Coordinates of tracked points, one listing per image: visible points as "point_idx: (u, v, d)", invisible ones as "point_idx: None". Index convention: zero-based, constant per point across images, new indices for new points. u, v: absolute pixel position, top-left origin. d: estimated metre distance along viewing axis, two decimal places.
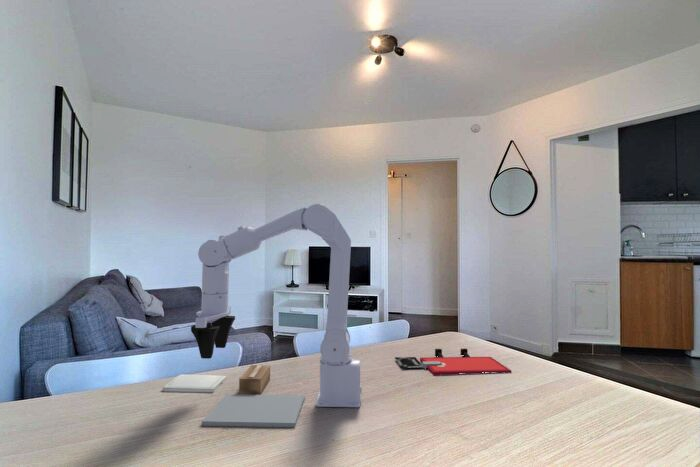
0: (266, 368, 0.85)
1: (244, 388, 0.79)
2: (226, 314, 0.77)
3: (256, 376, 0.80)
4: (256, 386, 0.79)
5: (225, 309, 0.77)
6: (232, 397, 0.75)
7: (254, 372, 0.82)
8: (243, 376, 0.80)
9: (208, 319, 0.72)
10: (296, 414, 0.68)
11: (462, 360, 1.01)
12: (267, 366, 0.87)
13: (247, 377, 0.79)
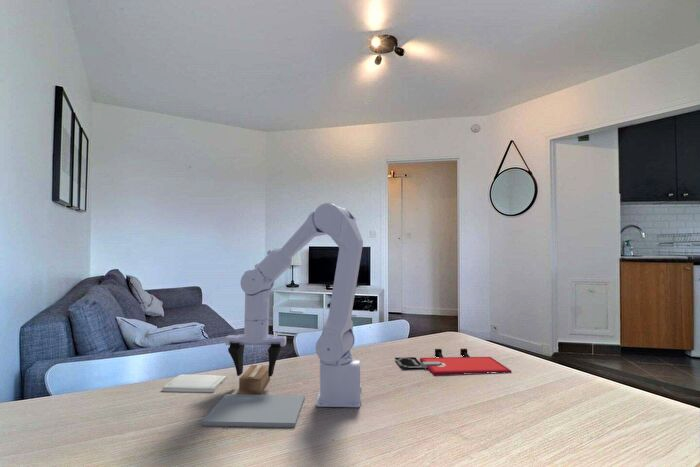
0: (266, 368, 0.85)
1: (244, 388, 0.79)
2: (249, 341, 0.81)
3: (256, 376, 0.80)
4: (256, 386, 0.79)
5: (250, 336, 0.81)
6: (232, 397, 0.75)
7: (254, 372, 0.82)
8: (243, 376, 0.80)
9: (230, 339, 0.82)
10: (296, 414, 0.68)
11: (462, 360, 1.01)
12: (267, 366, 0.87)
13: (247, 377, 0.79)
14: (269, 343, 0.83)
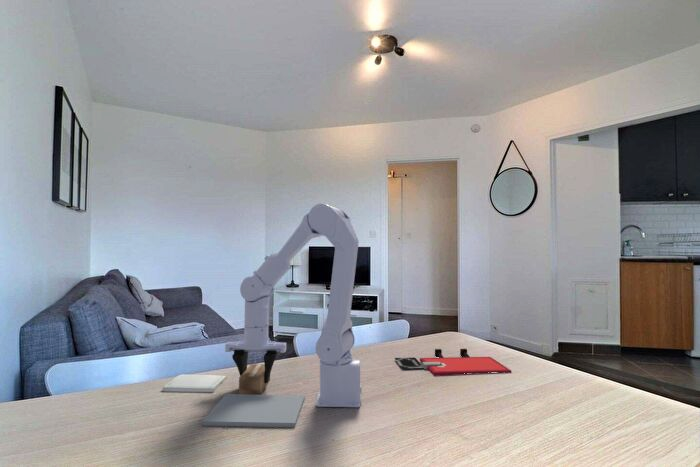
0: None
1: (243, 387, 0.79)
2: (249, 348, 0.80)
3: (256, 375, 0.80)
4: (256, 385, 0.79)
5: (249, 343, 0.81)
6: (232, 397, 0.75)
7: (254, 371, 0.82)
8: (243, 375, 0.80)
9: (230, 346, 0.82)
10: (296, 414, 0.68)
11: (462, 361, 1.01)
12: None
13: (247, 376, 0.79)
14: (269, 350, 0.83)
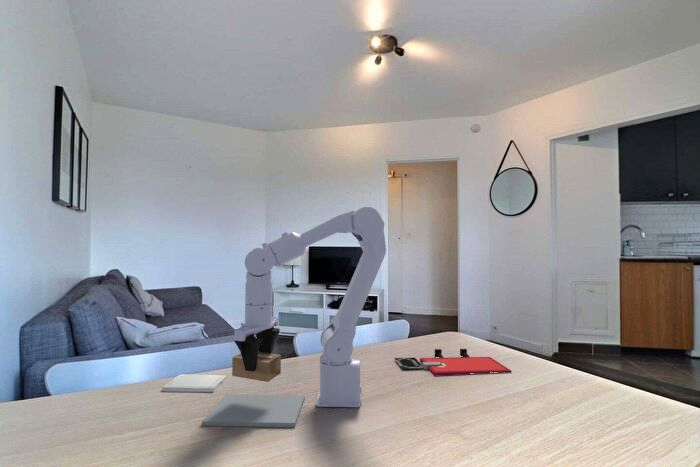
0: None
1: (271, 371, 0.71)
2: (268, 326, 0.73)
3: (271, 356, 0.74)
4: (278, 364, 0.74)
5: (267, 321, 0.73)
6: (232, 397, 0.75)
7: (260, 355, 0.74)
8: (263, 360, 0.71)
9: (247, 332, 0.68)
10: (296, 414, 0.68)
11: (462, 361, 1.01)
12: None
13: (269, 359, 0.72)
14: None
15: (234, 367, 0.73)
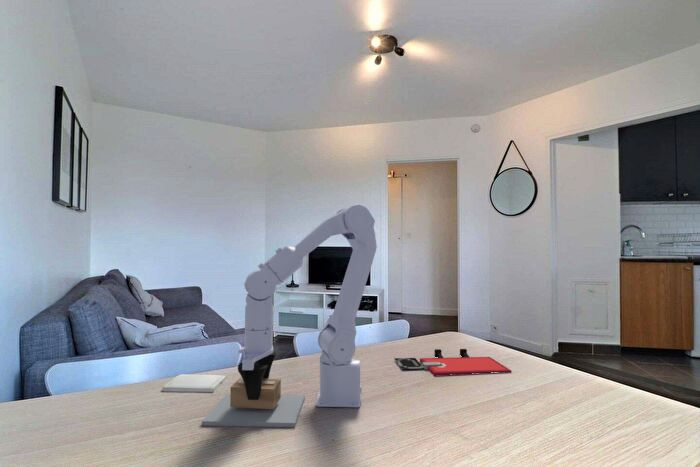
0: None
1: (275, 397, 0.69)
2: (271, 351, 0.71)
3: (272, 381, 0.72)
4: (279, 389, 0.72)
5: (270, 346, 0.71)
6: None
7: None
8: (267, 387, 0.69)
9: (255, 360, 0.66)
10: (296, 414, 0.68)
11: (462, 361, 1.01)
12: None
13: (272, 385, 0.70)
14: None
15: (233, 397, 0.69)
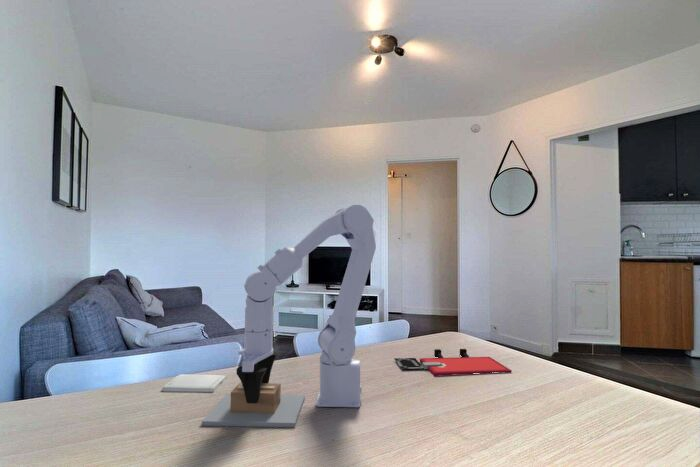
0: None
1: (275, 402, 0.70)
2: (271, 353, 0.71)
3: (272, 386, 0.72)
4: (279, 393, 0.72)
5: (270, 347, 0.71)
6: None
7: (261, 386, 0.71)
8: (268, 392, 0.69)
9: (255, 361, 0.66)
10: (296, 414, 0.68)
11: (461, 361, 1.01)
12: None
13: (272, 389, 0.70)
14: None
15: (233, 403, 0.69)
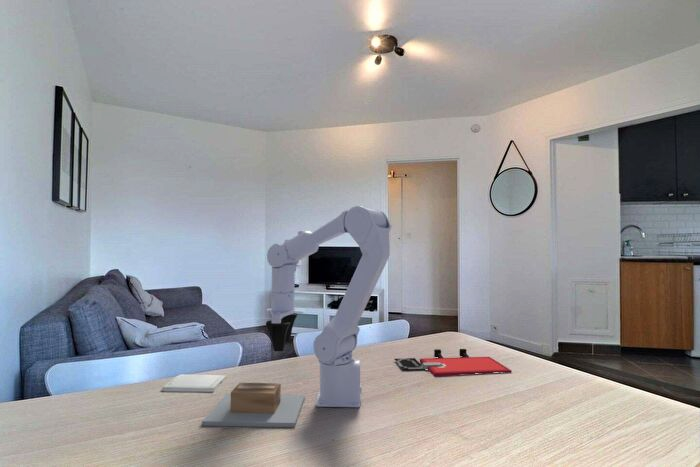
0: (249, 383, 0.73)
1: (275, 402, 0.70)
2: (293, 311, 0.85)
3: (272, 386, 0.72)
4: (279, 393, 0.72)
5: (293, 307, 0.85)
6: None
7: (261, 386, 0.71)
8: (268, 392, 0.69)
9: (282, 315, 0.80)
10: (296, 414, 0.68)
11: (461, 361, 1.01)
12: (242, 383, 0.73)
13: (272, 389, 0.70)
14: None
15: (233, 403, 0.69)
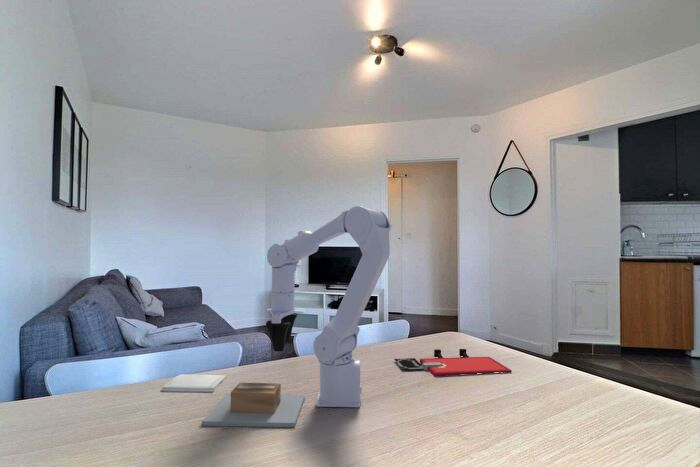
0: (249, 383, 0.73)
1: (275, 402, 0.70)
2: (293, 311, 0.85)
3: (272, 386, 0.72)
4: (279, 393, 0.72)
5: (293, 307, 0.85)
6: None
7: (261, 386, 0.71)
8: (268, 392, 0.69)
9: (282, 315, 0.80)
10: (296, 414, 0.68)
11: (461, 361, 1.01)
12: (242, 383, 0.73)
13: (272, 389, 0.70)
14: None
15: (233, 403, 0.69)
